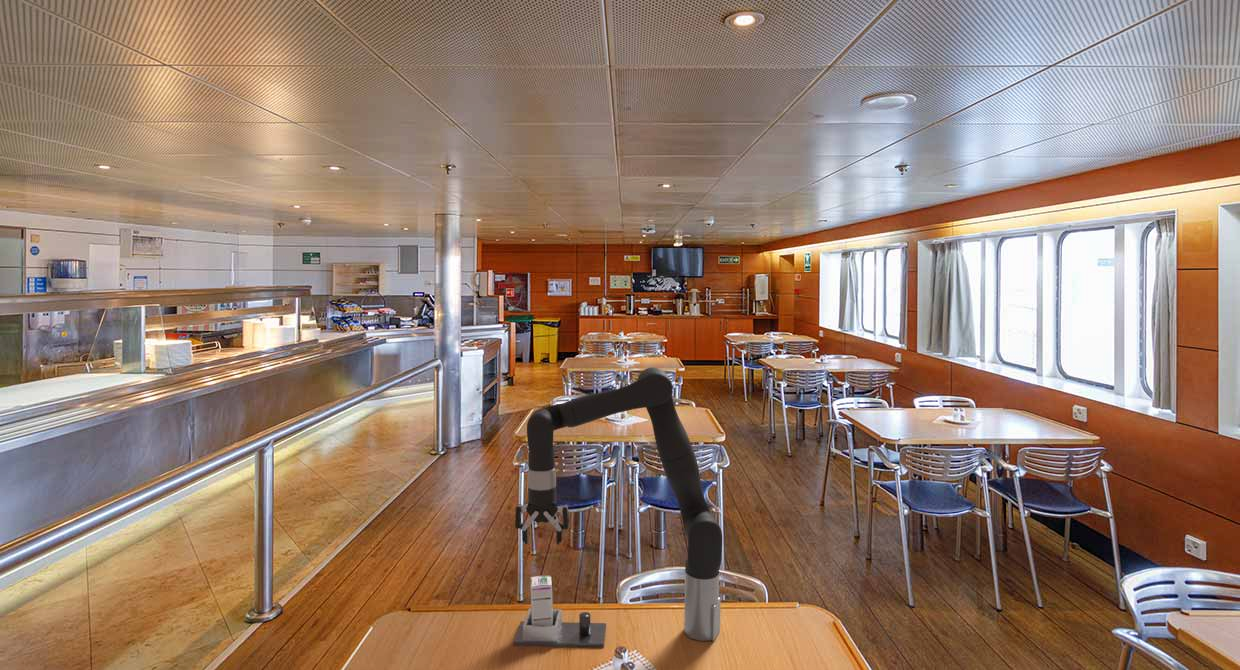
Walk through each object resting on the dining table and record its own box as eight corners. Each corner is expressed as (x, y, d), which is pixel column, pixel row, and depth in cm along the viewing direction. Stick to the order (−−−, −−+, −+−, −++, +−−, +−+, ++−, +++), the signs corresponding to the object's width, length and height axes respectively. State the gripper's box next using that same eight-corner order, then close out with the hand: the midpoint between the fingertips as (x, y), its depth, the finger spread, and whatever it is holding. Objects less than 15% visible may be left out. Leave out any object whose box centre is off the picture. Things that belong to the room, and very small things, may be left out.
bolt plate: (606, 626, 175) (606, 606, 175) (604, 647, 165) (604, 625, 165) (520, 624, 176) (520, 604, 176) (513, 645, 166) (513, 623, 166)
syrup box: (553, 636, 169) (553, 584, 167) (531, 638, 168) (530, 586, 166) (552, 624, 174) (552, 574, 173) (530, 626, 173) (530, 576, 172)
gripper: (570, 480, 171) (570, 537, 172) (518, 479, 171) (518, 537, 173) (566, 489, 163) (567, 549, 165) (512, 488, 164) (513, 548, 165)
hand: (542, 543), depth 169 cm, fingers open, 8 cm apart
